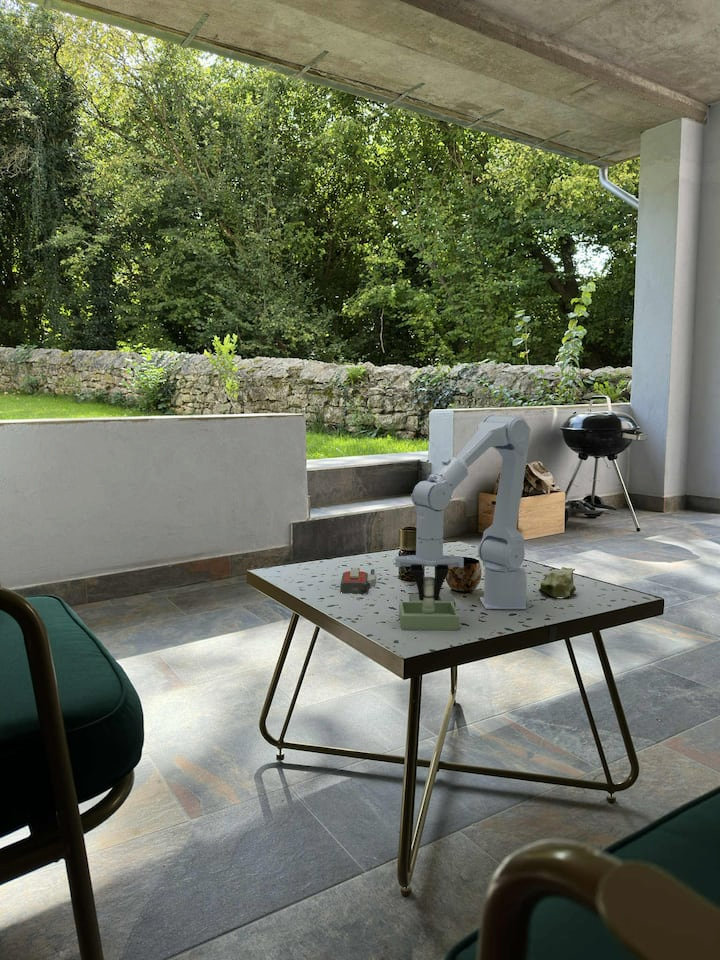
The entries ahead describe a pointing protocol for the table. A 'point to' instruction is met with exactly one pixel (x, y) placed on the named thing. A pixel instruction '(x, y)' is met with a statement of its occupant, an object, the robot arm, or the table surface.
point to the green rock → (558, 583)
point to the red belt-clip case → (357, 581)
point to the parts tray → (428, 616)
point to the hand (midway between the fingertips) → (428, 599)
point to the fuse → (428, 595)
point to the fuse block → (441, 599)
